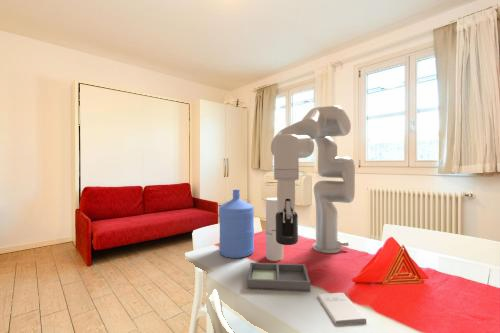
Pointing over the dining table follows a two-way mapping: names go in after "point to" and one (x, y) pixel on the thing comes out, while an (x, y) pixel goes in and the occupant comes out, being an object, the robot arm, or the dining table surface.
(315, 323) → the dining table surface
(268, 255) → the cylindrical container
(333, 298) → the external hard drive
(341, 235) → the dining table surface
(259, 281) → the sorting tray
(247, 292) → the dining table surface
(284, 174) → the robot arm
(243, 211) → the water jug
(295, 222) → the supplement bottle
